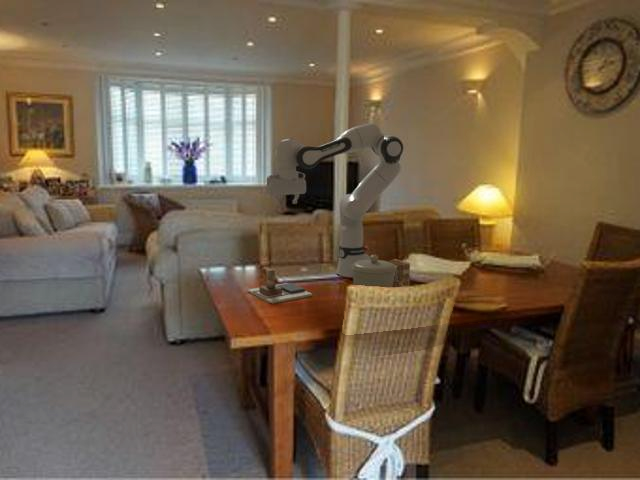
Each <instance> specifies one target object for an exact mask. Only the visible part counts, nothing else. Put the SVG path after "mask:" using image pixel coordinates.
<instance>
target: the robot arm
mask: <svg viewBox="0 0 640 480" xmlns="http://www.w3.org/2000/svg"><path fill="white" fill-rule="evenodd" d="M367 148H368V149H372V151H373V153H374V154H375V155H377V156H378V157H379V161H378V163H377V164H376V165H375V166H374V167H373V168H372V169H371V170H370V171H369V172H368V173H367V174H366V176H365V177H363V178H362V180H360V183H358V185H357V187H356V188H355V189H354V190H353V191H352V192H351V193H347V194H346V195H344V196H342V197H341V199H340V201H339V228H340V235H339V236H340V237H339V246H338V254H339V255H338V257H339V258H338V265H337V269H336V272H337V273H338V274H339V275H340V277H345V278H353V271H352V268H351V265H352V264H354V263H355V262H357V261H361V260H370V259H369V258H370V256H369V255H368V254H367V253H366V251H367V252H369V250H370V247H369V246H364V245H363V244H364V227H363V226H364V225H363V217H364V216H365V214H366V213H367V212H368V210H370V208H371V207H372V205H373V204H374V202H375V201H376V200H377V199H378V197H380V195H381V194H382V193H383V192H384V191H385V190H386V189H387V188H388V187H390V185H391V184H392V182H394V180H395V179H396V177H397V176H398V174H399V173H400V172H401V170H402V169H401V163H400V162H399V161H400V160H401V157H402V154H403V152H404V144H403V142H402V140H401V139H400V138H399V137H397V136H394V135H391V134H386V133H382V132H381V128H380V127H379V126H378V125H377V124H376V123H365V124H361V125H356V126H354V127H350V128H349V129H347V130H345V131H343V132H341V133H340V134H339V136H338V137H337V138H335V139H334V140H333V141H329V142H327V143H324V144H321V145H319V146H306V145H304V144H302V143H301V142H298V141H297V140H296V139H294V138H287V139H286V138H285V139H282V140H280V141H279V142H278V143H277V148H276V160H277V165H276V174H273V175H272V174H269V176H267V177H266V185H265V194H266V195H267V196H270V197H271V196H272V198H273V200H274V202H275V203H274V204H275V206H280V205H281V201H279V198H278V197H279V196H285V195H287V196H289V195H293V196H294V198H293V199H292V204H293V205H297V203H298V199H299V198H300V195H304V194H306V193H307V181H306V179H305V178H306V174H305V173H303V172H301V171H298V170H297V167H300V168H302V169H303V170H312V169H314V168H315V167H317V166H318V165H319V163H321V162H322V161H324V160H327V159H329V158H332V157H335V156H338V155H341V154H352V153H356V152H359V151H363V150H365V149H367ZM339 275H338V276H339Z"/></svg>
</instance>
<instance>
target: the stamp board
mask: <svg viewBox="0 0 640 480" xmlns="http://www.w3.org/2000/svg"><path fill="white" fill-rule="evenodd" d="M276 285H277V286H279V287H281V288H282V294H279V295H273V296H266V295H264V294H262V293H260V292H259V287H256V288H248V289H247V292H248V293H249V292H250V293H249V294H251V295H253V294H254V295H253V296H255V295H256V296H255V297H257V296H258V297H257V298H259V299H261V300H263V301H264V302H266V303H268V302H269V303H268V304H270V303H272V304H276V303H277V302H278V303H282V302H287V301H293V300H298V299H302V298H309V297H312V296H313V293H312V292H309V291H307V290H306V288H304V287H301V286H300V285H297V284H295V283H293V282H285V283H280V284H276Z"/></svg>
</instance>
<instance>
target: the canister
mask: <svg viewBox="0 0 640 480" xmlns="http://www.w3.org/2000/svg"><path fill="white" fill-rule="evenodd" d="M369 257H370V258H369V259H370V260H361V261H357V262H355V263H354V264H352V265H351V268H352V271H353V277H352V280H353V281H352V282H353V286H354V285H365V286H380V287H393V281H394V275H395V271H396V270H397V267H396V266H395V265H393V264H392V263H390V261H386V260H382V259H379V256H378V255H376V254H371V255H370V256H369Z"/></svg>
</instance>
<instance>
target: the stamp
mask: <svg viewBox="0 0 640 480" xmlns="http://www.w3.org/2000/svg"><path fill="white" fill-rule="evenodd" d="M265 271H266V273H265V274H266V277H265V278H266V279H265V280H266V282H265V283H266V285H261V286H259V287H258V288H259V292H260V293H262V294H264V295H266V296H273V295H279V294H282V288H281V287H279V286H277V285H278V284H276V270H275V268H273V269H272V268H268V269H266V270H265Z"/></svg>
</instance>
